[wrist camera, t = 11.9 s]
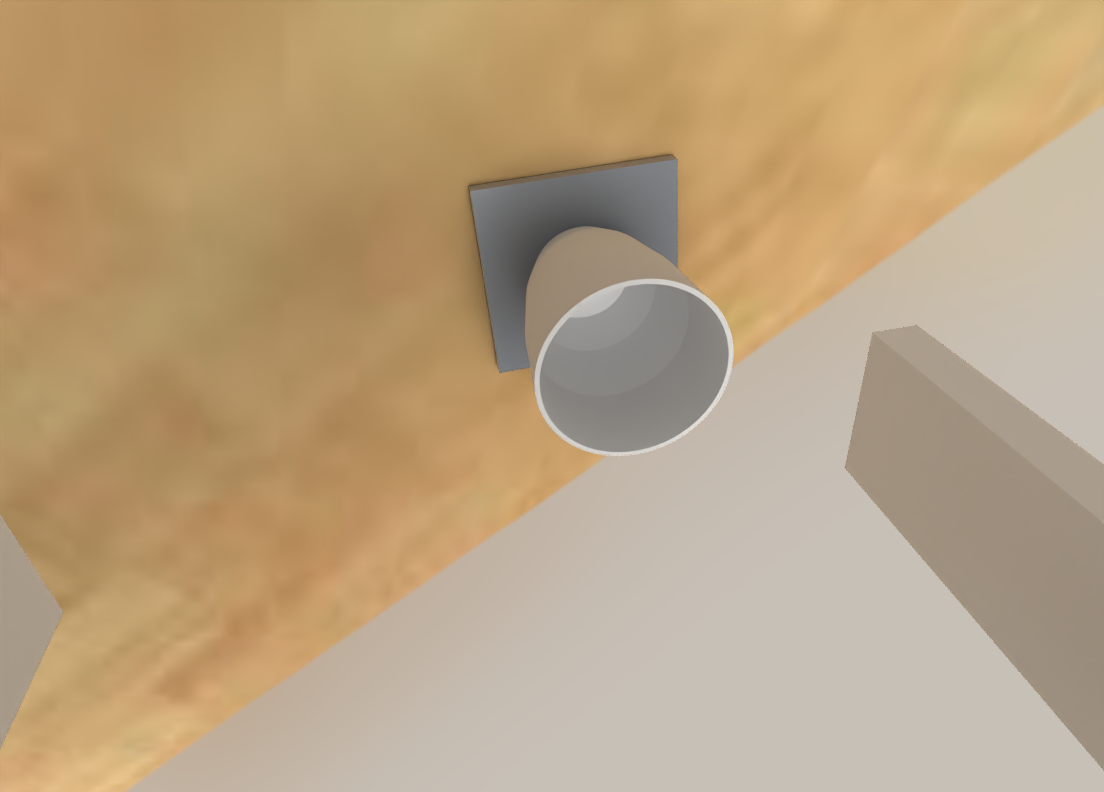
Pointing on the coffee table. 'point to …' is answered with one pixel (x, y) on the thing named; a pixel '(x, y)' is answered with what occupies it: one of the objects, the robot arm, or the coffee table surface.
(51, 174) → the coffee table surface
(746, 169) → the coffee table surface
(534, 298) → the cup
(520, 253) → the coaster
